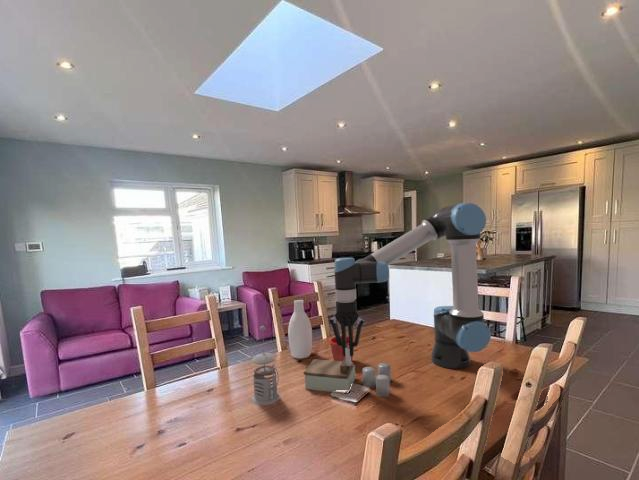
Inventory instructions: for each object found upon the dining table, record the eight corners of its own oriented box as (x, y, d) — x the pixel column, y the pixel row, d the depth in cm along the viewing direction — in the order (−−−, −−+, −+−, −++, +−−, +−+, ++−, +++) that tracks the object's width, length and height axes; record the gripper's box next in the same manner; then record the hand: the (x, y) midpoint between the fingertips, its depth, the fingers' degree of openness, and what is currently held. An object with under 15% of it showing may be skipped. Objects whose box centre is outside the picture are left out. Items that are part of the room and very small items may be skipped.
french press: (269, 387, 116) (266, 320, 116) (289, 398, 108) (285, 326, 107) (246, 398, 109) (242, 326, 109) (265, 410, 101) (261, 333, 100)
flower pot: (355, 356, 141) (354, 335, 141) (355, 367, 130) (354, 344, 130) (331, 357, 142) (330, 335, 142) (330, 367, 131) (329, 344, 131)
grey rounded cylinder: (390, 391, 110) (389, 375, 109) (389, 397, 105) (388, 381, 105) (377, 389, 111) (376, 374, 111) (375, 396, 106) (374, 380, 106)
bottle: (317, 352, 148) (315, 299, 148) (304, 361, 139) (301, 304, 138) (298, 349, 154) (296, 297, 154) (284, 357, 145) (281, 302, 144)
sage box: (355, 378, 120) (354, 365, 120) (348, 393, 109) (348, 379, 109) (315, 374, 125) (315, 361, 125) (305, 388, 114) (304, 375, 114)
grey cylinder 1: (376, 382, 116) (375, 367, 116) (375, 388, 112) (374, 372, 112) (364, 381, 118) (363, 366, 118) (362, 387, 113) (361, 371, 113)
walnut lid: (353, 364, 121) (353, 355, 120) (346, 378, 109) (346, 369, 109) (314, 361, 125) (313, 352, 125) (303, 374, 114) (303, 365, 114)
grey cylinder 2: (391, 378, 119) (390, 363, 119) (390, 383, 115) (389, 368, 115) (379, 377, 121) (378, 362, 120) (377, 382, 116) (377, 367, 116)
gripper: (365, 298, 116) (368, 361, 116) (331, 297, 120) (334, 359, 120) (362, 303, 109) (364, 370, 109) (326, 302, 113) (328, 367, 113)
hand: (348, 364), depth 115 cm, fingers closed
